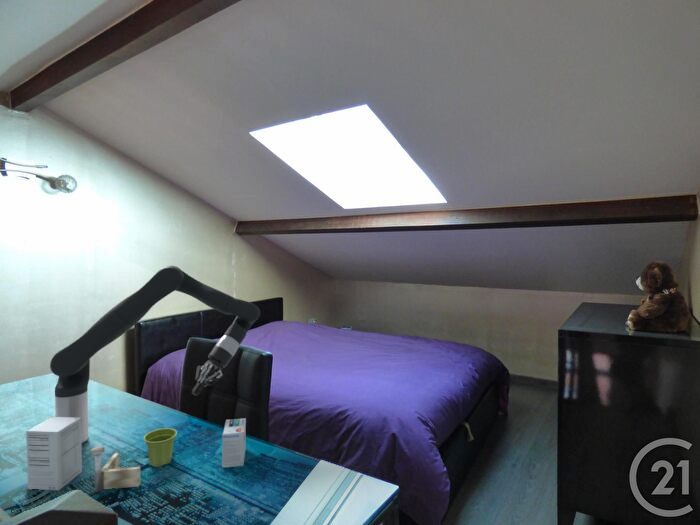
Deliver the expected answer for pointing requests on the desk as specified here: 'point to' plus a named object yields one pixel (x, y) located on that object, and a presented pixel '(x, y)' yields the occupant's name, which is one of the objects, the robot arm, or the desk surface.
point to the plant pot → (160, 446)
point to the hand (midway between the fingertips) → (194, 394)
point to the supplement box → (54, 453)
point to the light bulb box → (234, 443)
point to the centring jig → (113, 472)
